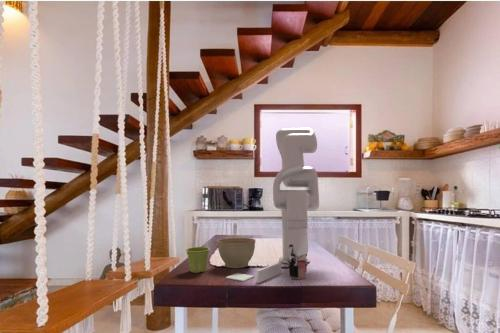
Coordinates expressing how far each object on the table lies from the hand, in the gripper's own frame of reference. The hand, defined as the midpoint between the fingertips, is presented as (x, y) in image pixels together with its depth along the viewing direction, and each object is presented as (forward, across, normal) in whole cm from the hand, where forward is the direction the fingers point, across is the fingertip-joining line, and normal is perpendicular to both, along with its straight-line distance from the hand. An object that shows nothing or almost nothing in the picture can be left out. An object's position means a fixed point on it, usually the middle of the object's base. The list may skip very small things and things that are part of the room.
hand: (298, 274), depth 119 cm
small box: (+1, 0, 0) cm, 1 cm away
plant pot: (+2, +12, -38) cm, 40 cm away
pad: (+1, +11, -18) cm, 21 cm away
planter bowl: (+2, -3, -30) cm, 30 cm away
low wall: (+1, +5, -9) cm, 10 cm away
